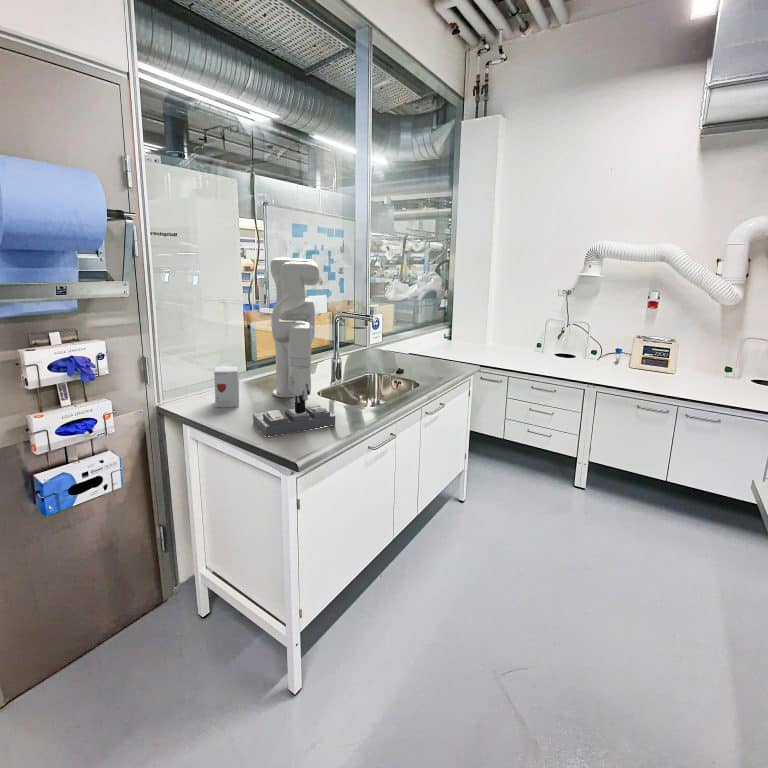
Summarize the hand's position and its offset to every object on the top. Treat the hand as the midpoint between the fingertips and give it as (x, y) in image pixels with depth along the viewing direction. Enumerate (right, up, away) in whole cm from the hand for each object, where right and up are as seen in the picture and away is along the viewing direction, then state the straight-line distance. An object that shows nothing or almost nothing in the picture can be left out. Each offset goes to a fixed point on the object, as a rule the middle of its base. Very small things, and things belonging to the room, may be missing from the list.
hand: (300, 412), depth 158 cm
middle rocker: (-1, -1, +2) cm, 3 cm away
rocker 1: (-8, -2, -2) cm, 9 cm away
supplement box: (-34, +1, +25) cm, 42 cm away
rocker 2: (+5, 0, +7) cm, 9 cm away
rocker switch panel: (-3, -5, +6) cm, 8 cm away
